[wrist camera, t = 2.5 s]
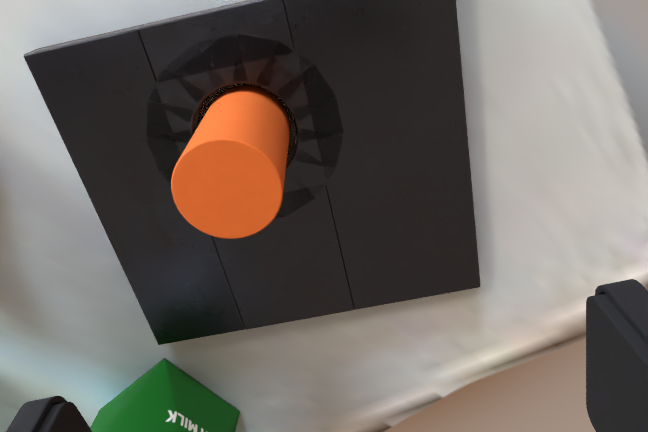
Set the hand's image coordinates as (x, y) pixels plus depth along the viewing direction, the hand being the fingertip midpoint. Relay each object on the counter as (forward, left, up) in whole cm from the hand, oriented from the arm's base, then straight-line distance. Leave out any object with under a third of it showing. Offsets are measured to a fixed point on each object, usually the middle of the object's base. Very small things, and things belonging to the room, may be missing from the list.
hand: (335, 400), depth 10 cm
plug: (-4, -1, -20) cm, 20 cm away
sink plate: (-3, -4, -20) cm, 21 cm away
